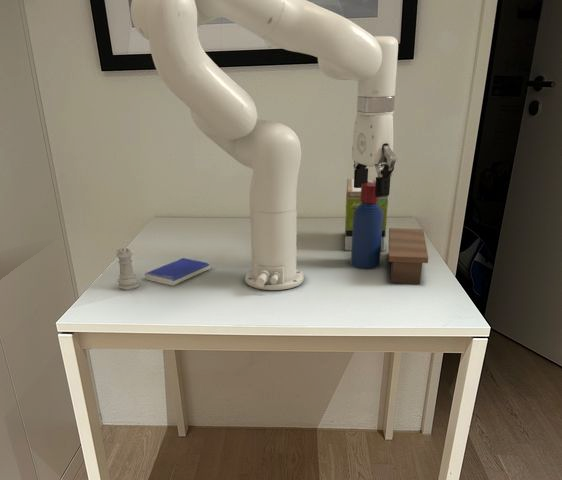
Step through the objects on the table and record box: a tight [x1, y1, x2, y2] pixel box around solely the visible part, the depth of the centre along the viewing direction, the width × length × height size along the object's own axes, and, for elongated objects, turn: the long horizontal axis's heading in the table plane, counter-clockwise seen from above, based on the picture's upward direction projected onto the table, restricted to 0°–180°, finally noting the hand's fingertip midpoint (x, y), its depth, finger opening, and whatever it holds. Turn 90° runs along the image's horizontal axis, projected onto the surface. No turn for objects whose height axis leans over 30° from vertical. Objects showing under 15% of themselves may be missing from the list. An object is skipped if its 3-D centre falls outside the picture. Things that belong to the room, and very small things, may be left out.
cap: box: [360, 183, 378, 204], centre depth 127 cm, size 4×4×4 cm
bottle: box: [350, 203, 383, 269], centre depth 131 cm, size 7×7×18 cm
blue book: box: [144, 257, 211, 287], centre depth 129 cm, size 2×8×12 cm
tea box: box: [344, 178, 389, 252], centre depth 146 cm, size 15×10×15 cm, turn 175°
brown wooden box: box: [388, 227, 429, 285], centre depth 131 cm, size 22×8×6 cm, turn 171°
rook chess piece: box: [115, 247, 140, 291], centre depth 121 cm, size 4×4×8 cm
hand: (370, 191), depth 127 cm, fingers open, 9 cm apart
